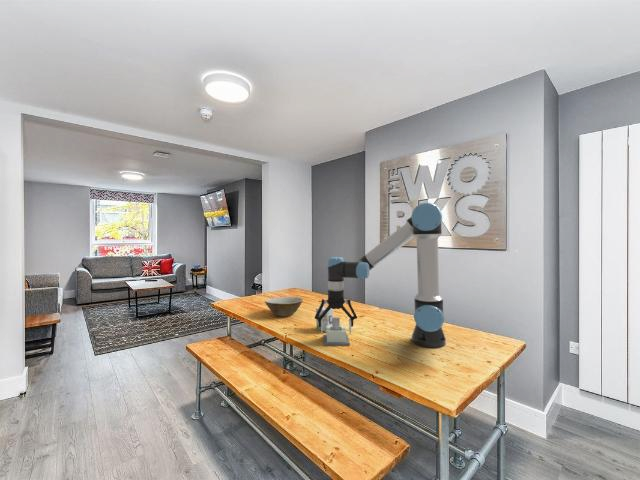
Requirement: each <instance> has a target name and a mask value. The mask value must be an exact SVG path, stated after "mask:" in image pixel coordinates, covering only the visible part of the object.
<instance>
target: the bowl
mask: <svg viewBox="0 0 640 480" xmlns="http://www.w3.org/2000/svg"><path fill="white" fill-rule="evenodd" d="M303 300H304V299H303V298H302V297H297V296H282V297H281V296H280V297H279V296H278V297H274V298H268V299H266V300H264V303H265V305H266V306H267V307H268V309H269V310H270V311H271V313H273V315H275V316H277V317H291V316H292V315H294V314H295V313H296V312H297V311H298V309H299V308H300V307H301V304H302V303H303Z"/></svg>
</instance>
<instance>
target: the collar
mask: <svg viewBox="0 0 640 480" xmlns="http://www.w3.org/2000/svg"><path fill="white" fill-rule="evenodd" d="M325 333H326V335H327V342H346V334H347V329H346V325H340V330H332V326H326V332H325Z"/></svg>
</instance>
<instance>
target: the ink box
mask: <svg viewBox="0 0 640 480" xmlns="http://www.w3.org/2000/svg"><path fill="white" fill-rule="evenodd" d="M319 307H320V306H319ZM319 307H315V314H316V313H317V311H318V309H319ZM327 307H328V306H325V305H324V306H323V308H322V310H321V312H320V314H319V316H320V315H321V314H322V313H323V312H324V310H325V309H326V308H327ZM333 317H334V309H332V308H331V309H330V310H329V311H328V312H327V313H326V315H325V316H324V317H323V318H322V319H323V332H325V333H327V332H326V326H332V318H333ZM315 321H316V322H315V323H316V330H318V331H321V327H319V320H318V319H315Z"/></svg>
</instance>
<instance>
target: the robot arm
mask: <svg viewBox="0 0 640 480" xmlns="http://www.w3.org/2000/svg"><path fill="white" fill-rule="evenodd" d="M442 220H443V212H442V210H441V209H440V207H439V206H438V205H436V204H435V203H432V202H422V203H420V204H418V205H416V207H415V208H414V209H413V211H412V212H411V217H409V218H408V219H407V220H406V221H405V224H404V225H402V226H401V227H400V228H398V229H397V230H396V231H394V232H393V233H392V234H390V235H389V236H388V237H387V238H386V239H384V240H383V241H381V242H380V243H379V244H378V245H376V246H375V247H374V248H372V249H371V250H370V251H368V252H367V253H365V255H363V256H361V258H359V259H358V260H356V261H345V260H344V257H341V256H332V257H329V258H328V259H327V288H328V290H327V299H324V298H322V299H321V303H320V305H319V309H318V311H317V313H316V312H315V315H314V319H315V320H316V319H318V320H319V327H321V330H320V334H321V335H324V334H323V332H324V331H323V319H322V318H323V317H324V316H325V315H326V313H327V312H328V311H329V310H330V309H331V308H332V309H333V310H340V309H341V310H342V311H343V312H344V313H345V315H346V316H347V317H348V318H349V319H348V333H349V335H352V327H354V320H357V319H358V316H357V314H356V312H355V310H354V308H353V306H352V304H351V299H350V298H347V299H345V298H344V297H345V295H344V292H345V291H344V289H345V288H344V287H345V285H344V284H345V283H344V282H345V281H344V278H349V279H360V280H362V279H369V276H370V271H371V270H373V268H375V267H376V266H378V265H379V264H381V263H382V262H383V261H384V260H386V259H387V258H388V257H390V256H391V255H392V254H394V253H395V252H397V251H398V250H399V249H401V248H402V247H403V246H404V245H406V244H407V243H409V242H410V241H411V240H413V239H416V268H417V269H416V270H417V271H416V272H417V274H416V275H417V293H416V295H415V296H414V298H413V299H414V314H413V319H414V323H415V325H414V329H413V331H412V335H411V341H412V343H414V344H415V345H418V346H421V347H425V348H442V347H444V346H446V344H447V343H446V340H447V339H446V336H445V332H444V330H443V324H444V323H445V316H444V315H445V314H444V298H443V296H442V295H441V294H440V282H439V281H440V279H439V278H440V277H439V271H440V270H439V238H440V237H441V235H442V234H443V233H442V231H443V230H442ZM326 303H327V304H328V305H327V306H326V307H327V308H326V309H325V310H324V312H323V313H322V314H321V315H320V316H319V314H320V312H321V310H322V308H323V306H324V307H325V305H326ZM345 303H346V305H348V307H349V309H350V311H351V313H350V312H349V310H348V309H347V308H345V306H344V304H345Z"/></svg>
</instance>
